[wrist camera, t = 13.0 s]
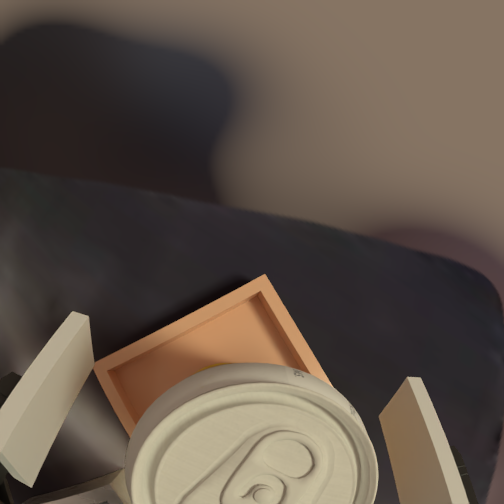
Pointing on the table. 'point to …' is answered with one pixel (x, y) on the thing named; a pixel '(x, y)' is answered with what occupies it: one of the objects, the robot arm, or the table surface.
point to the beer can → (251, 441)
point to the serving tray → (205, 348)
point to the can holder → (89, 492)
